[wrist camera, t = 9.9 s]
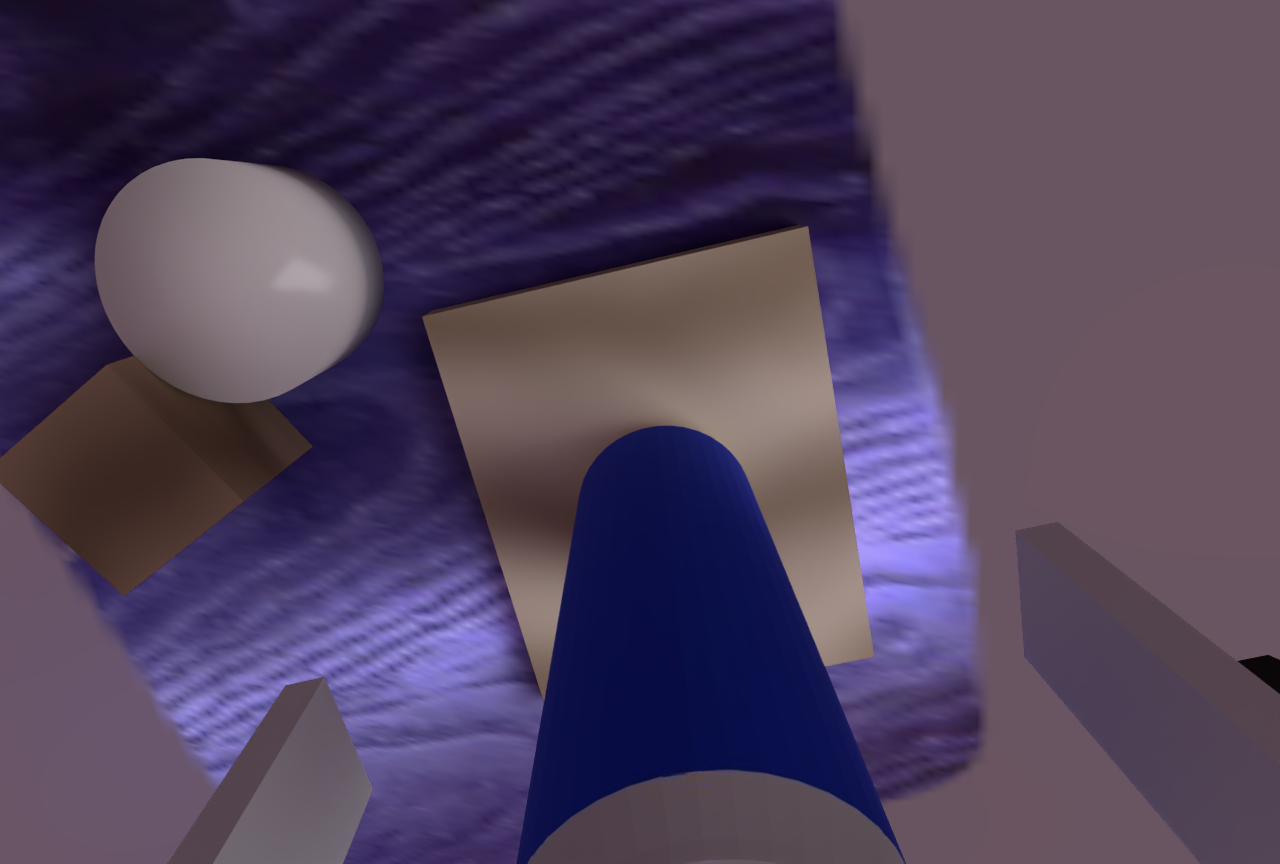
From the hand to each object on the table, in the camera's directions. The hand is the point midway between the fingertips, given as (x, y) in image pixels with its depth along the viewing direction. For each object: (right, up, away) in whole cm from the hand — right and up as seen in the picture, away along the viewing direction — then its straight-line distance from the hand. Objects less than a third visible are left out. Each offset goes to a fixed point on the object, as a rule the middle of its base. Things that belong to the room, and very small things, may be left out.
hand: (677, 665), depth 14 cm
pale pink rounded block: (-11, +9, +8) cm, 16 cm away
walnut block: (-14, +4, +9) cm, 17 cm away
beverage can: (0, +2, +9) cm, 9 cm away
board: (0, +3, +10) cm, 10 cm away
